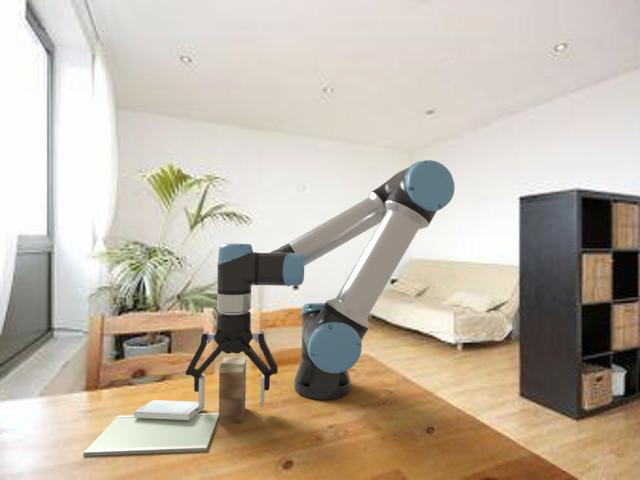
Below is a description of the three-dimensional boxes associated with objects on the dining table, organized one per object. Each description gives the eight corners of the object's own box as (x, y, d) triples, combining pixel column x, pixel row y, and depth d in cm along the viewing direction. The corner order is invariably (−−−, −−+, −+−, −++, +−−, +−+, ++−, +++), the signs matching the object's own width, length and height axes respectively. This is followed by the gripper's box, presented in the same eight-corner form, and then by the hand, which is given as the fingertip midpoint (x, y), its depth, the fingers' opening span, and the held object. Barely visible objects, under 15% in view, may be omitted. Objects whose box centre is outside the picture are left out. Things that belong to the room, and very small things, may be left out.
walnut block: (245, 408, 88) (246, 357, 88) (242, 422, 81) (243, 367, 81) (223, 408, 88) (224, 357, 88) (218, 423, 81) (219, 368, 81)
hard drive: (133, 411, 81) (188, 413, 80) (154, 399, 89) (204, 400, 88) (133, 419, 81) (188, 421, 79) (154, 406, 89) (204, 408, 87)
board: (219, 415, 84) (219, 412, 84) (206, 451, 70) (206, 447, 70) (117, 418, 82) (117, 415, 82) (83, 456, 68) (83, 452, 68)
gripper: (288, 308, 90) (287, 396, 90) (181, 308, 87) (180, 398, 87) (289, 314, 82) (287, 410, 82) (172, 314, 80) (170, 413, 80)
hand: (232, 404), depth 85 cm, fingers open, 13 cm apart
